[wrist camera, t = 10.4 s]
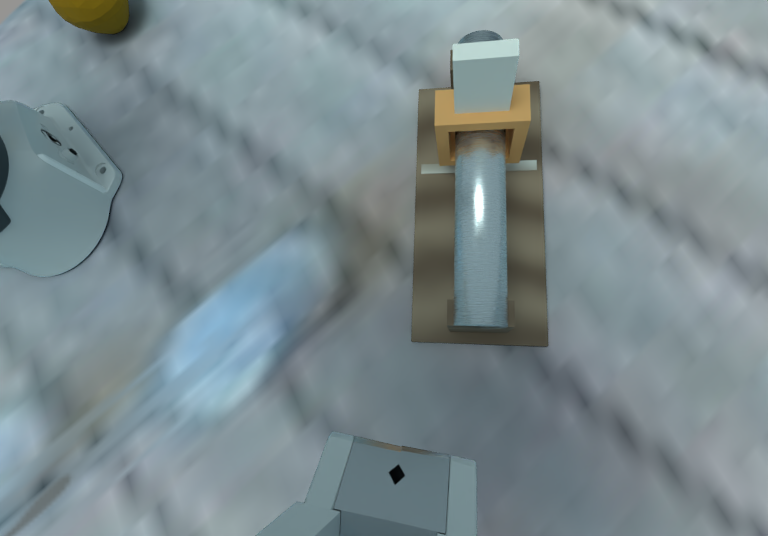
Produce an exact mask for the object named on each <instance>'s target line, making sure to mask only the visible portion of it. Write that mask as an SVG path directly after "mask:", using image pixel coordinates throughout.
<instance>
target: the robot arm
mask: <svg viewBox="0 0 768 536" xmlns="http://www.w3.org/2000/svg"><path fill="white" fill-rule="evenodd" d="M121 180H122V174H121V172H120V170H119V169H118V168H117V167H116V166H115V164H114V163H113V162H112V161H111V159H110V158H109V157H108V156H107V155H106V153H105V152H104V151H103V150H102V149H101V147H100V146H99V145H98V144H97V142H96V141H95V140H94V139H93V138H92V136H91V135H90V134H89V133H88V132H87V130H86V129H85V128H84V127H83V126H82V124H81V123H80V122H79V121H78V119H77V118H76V117H75V116H74V115H73V113H72V112H71V111H70V110H69V109H68V108H67V107H66V106H64V105H62V104H60V103H50V104H46V105H42V106H39V107H37V108H35V109H32V108H30V107H28V106H26V105H24V104H22V103H19V102H16V101H0V267H3V268H5V267H13V268H16V269H18V270H20V271H23V272H25V273H27V274H29V275H33V276H38V277H50V276H55V275H59V274H61V273H64V272H66V271H68V270H70V269H72V268H73V267H75V266H76V265H78V264H79V263H80V262H82V261H83V260H84V259H85V258H86V257H87V256H88V255H89V254H90V253H91V252H92V250H93V249H94V248H95V246H96V245H97V243H98V242H99V240H100V238H101V236H102V234H103V232H104V230H105V227H106V224H107V221H108V217H109V211H110V205H111V201H112V198H113V196H114V195H115V193H116V191H117V189H118V187H119V185H120V183H121ZM255 536H477V469H476V463H475V460H470V459H465V458H460V457H455V456H450V457H449V455H448V454H443V453H437V452H432V451H427V450H421V449H416V448H411V447H405V446H402V447H400V446H396V445H392V444H388V443H383V442H379V441H375V440H370V439H366V438H362V437H357V436H352V435H348V434H343V433H338V432H334V431H332V433H331V434H330V436H329V437H328V440H327V442H326V445H325V448H324V450H323V453H322V456H321V458H320V461H319V464H318V467H317V469H316V472H315V475H314V477H313V480H312V483H311V485H310V488H309V491H308V494H307V496H306V499H305V502H304V503H301V502H296V503H295V504H293V505H292V506H291V507H290V508H288V509H287V510H286V511H285V512H284V513H282V514H281V515H280V516H279V517H277V518H276V519H275V520H274V521H273V522H271V523H270V524H269V525H268V526H266V527H265V528H264V529H263V530H262V531H260V532H259V533H258V534H257V535H255Z"/></svg>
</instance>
